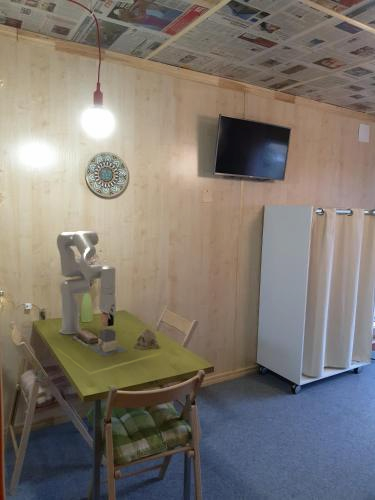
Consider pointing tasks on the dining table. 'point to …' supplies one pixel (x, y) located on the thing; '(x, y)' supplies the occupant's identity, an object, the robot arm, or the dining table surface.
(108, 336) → the charcoal block
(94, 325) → the dining table surface
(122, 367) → the dining table surface
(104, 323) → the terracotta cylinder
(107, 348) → the birch block
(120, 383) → the dining table surface
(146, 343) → the stuffed bread roll
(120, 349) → the slate mat
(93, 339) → the packaged product
